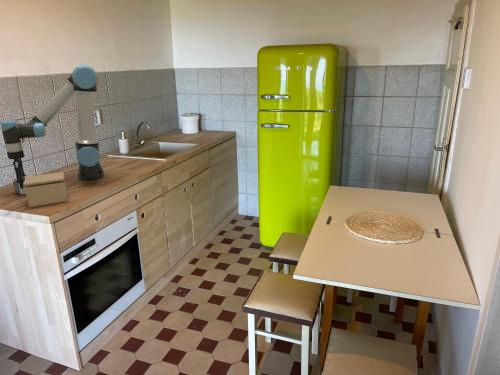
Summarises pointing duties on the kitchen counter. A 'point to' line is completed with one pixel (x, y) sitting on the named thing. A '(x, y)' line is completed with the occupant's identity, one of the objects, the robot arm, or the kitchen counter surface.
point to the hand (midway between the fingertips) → (24, 191)
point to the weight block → (17, 186)
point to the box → (46, 193)
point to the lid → (44, 179)
